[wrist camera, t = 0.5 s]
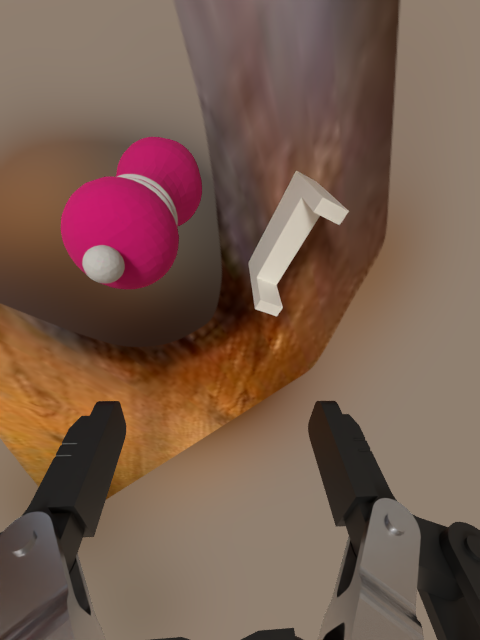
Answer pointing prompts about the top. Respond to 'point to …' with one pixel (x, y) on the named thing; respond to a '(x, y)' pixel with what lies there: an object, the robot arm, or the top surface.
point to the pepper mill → (133, 215)
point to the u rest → (288, 237)
